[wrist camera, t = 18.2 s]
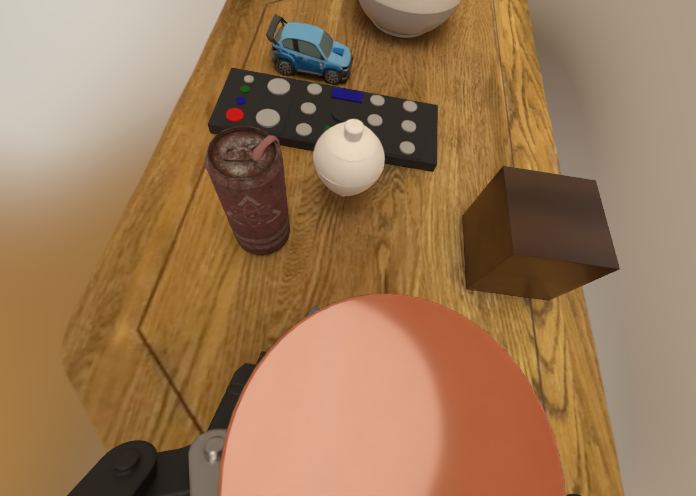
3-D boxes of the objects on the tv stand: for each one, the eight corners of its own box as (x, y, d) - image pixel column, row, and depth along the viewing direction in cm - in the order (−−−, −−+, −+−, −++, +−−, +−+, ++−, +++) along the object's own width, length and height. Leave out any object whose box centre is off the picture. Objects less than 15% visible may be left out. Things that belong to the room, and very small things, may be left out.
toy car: (346, 89, 51) (351, 53, 46) (268, 72, 51) (264, 35, 45) (352, 64, 53) (357, 27, 48) (278, 48, 53) (275, 10, 48)
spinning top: (329, 231, 40) (336, 167, 29) (302, 183, 43) (300, 108, 32) (383, 209, 42) (409, 142, 31) (354, 164, 45) (369, 88, 34)
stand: (548, 300, 39) (620, 269, 30) (466, 289, 39) (514, 253, 30) (536, 226, 44) (596, 180, 35) (462, 215, 43) (503, 165, 34)
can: (302, 231, 40) (299, 150, 27) (261, 267, 37) (237, 195, 25) (267, 200, 41) (249, 109, 28) (225, 232, 39) (185, 148, 26)
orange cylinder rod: (363, 350, 20) (455, 255, 8) (408, 456, 18) (641, 568, 5) (265, 392, 19) (179, 361, 6) (303, 515, 16) (290, 860, 4)
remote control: (233, 76, 49) (230, 64, 48) (434, 113, 51) (438, 102, 49) (210, 132, 45) (206, 121, 43) (433, 171, 46) (438, 161, 44)
